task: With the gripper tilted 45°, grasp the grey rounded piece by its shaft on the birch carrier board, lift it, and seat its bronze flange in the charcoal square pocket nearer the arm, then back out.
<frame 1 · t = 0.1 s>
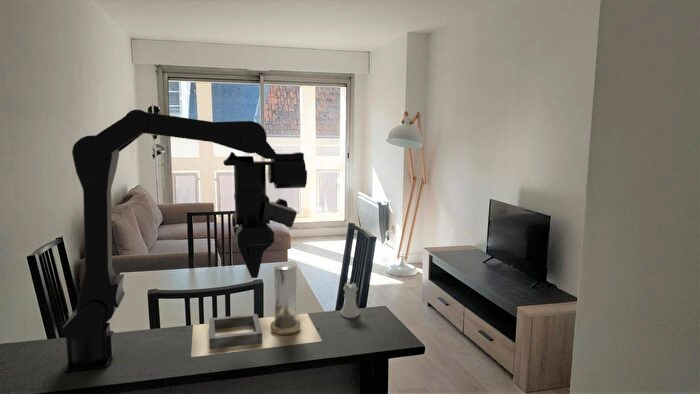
hand: (252, 270, 87), 15 cm above the table, tool pointing down, fingers open, 9 cm apart
carrier board: (255, 337, 91), on the table
rook chess piece: (349, 319, 101), on the table
grey rounded piece: (285, 329, 93), point 1 cm above the table, touching carrier board
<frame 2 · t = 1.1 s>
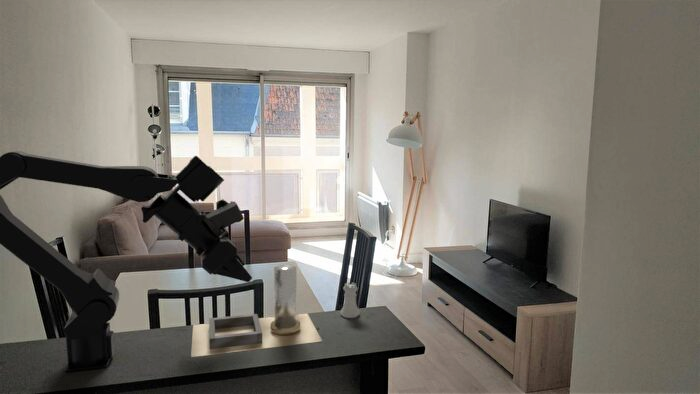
hand: (246, 272, 89), 14 cm above the table, tool tilted 45°, fingers open, 9 cm apart
nothing on the table moved.
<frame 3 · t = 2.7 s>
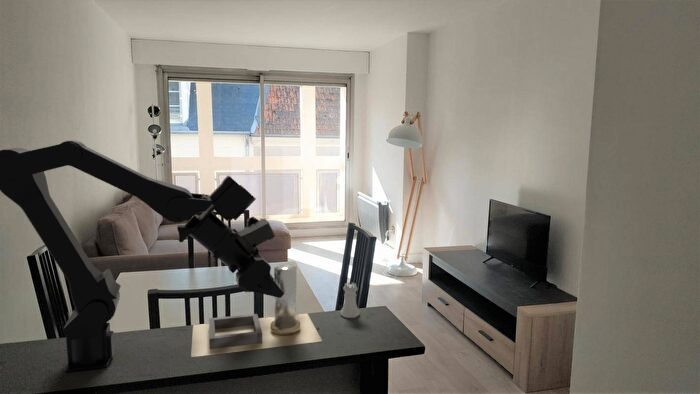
hand: (277, 288, 91), 10 cm above the table, tool tilted 45°, fingers open, 9 cm apart
nothing on the table moved.
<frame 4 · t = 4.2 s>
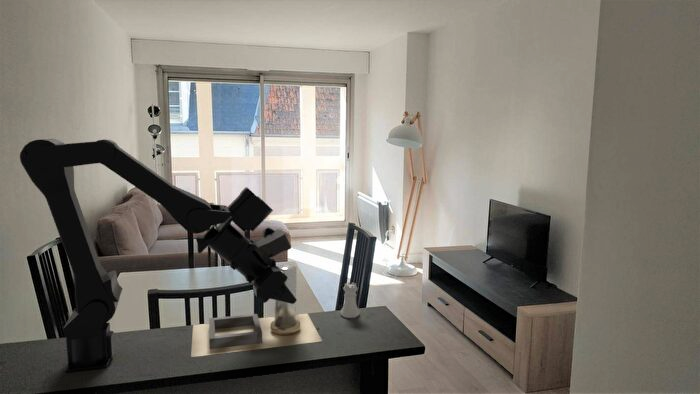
hand: (292, 297, 92), 8 cm above the table, tool tilted 45°, fingers closed on grey rounded piece, 4 cm apart
grey rounded piece: (285, 329, 93), point 1 cm above the table, touching carrier board, gripper
everything else where it was.
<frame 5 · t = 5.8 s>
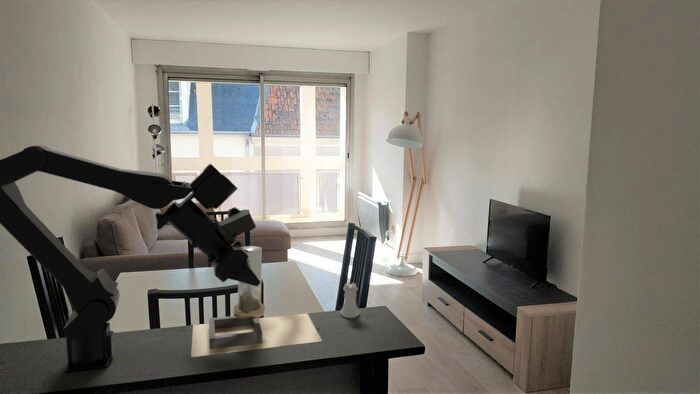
hand: (256, 280, 90), 12 cm above the table, tool tilted 45°, fingers closed on grey rounded piece, 4 cm apart
grey rounded piece: (249, 313, 90), point 5 cm above the table, touching gripper
everything else where it was.
when the fingers open (9 cm above the table, at t = 7.8 s): grey rounded piece drops 1 cm, resting on carrier board.
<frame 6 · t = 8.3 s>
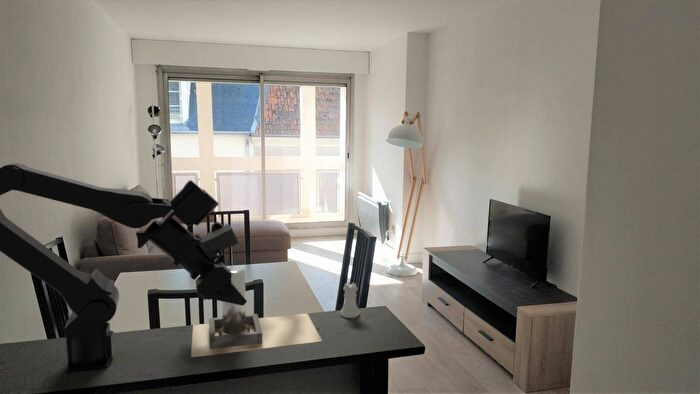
hand: (241, 295, 89), 9 cm above the table, tool tilted 45°, fingers open, 9 cm apart
grey rounded piece: (234, 335, 90), point 1 cm above the table, touching carrier board
everything else where it was.
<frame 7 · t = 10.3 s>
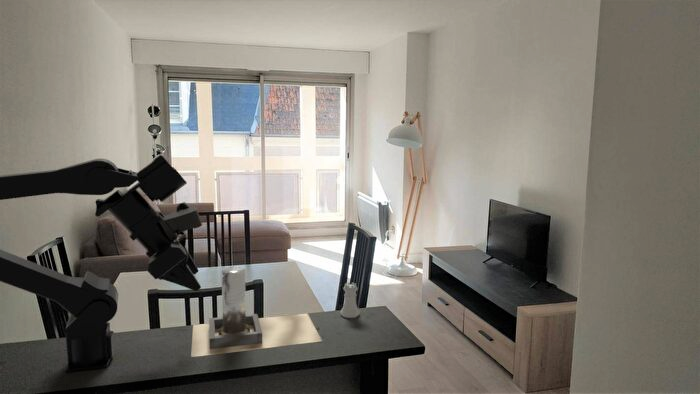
hand: (197, 280, 86), 13 cm above the table, tool tilted 35°, fingers open, 9 cm apart
nothing on the table moved.
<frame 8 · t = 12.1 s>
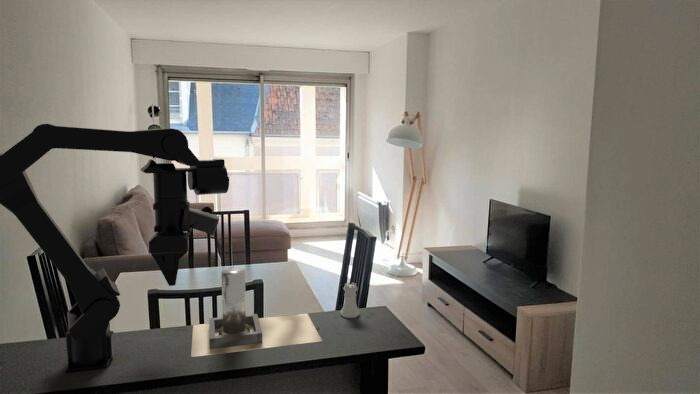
hand: (174, 277, 87), 13 cm above the table, tool pointing down, fingers open, 9 cm apart
nothing on the table moved.
at the end: grey rounded piece 0.1 cm from the target spot on the carrier board, point 1.1 cm above the carrier board's base; grey rounded piece tilted 1°; the gripper is holding nothing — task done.
